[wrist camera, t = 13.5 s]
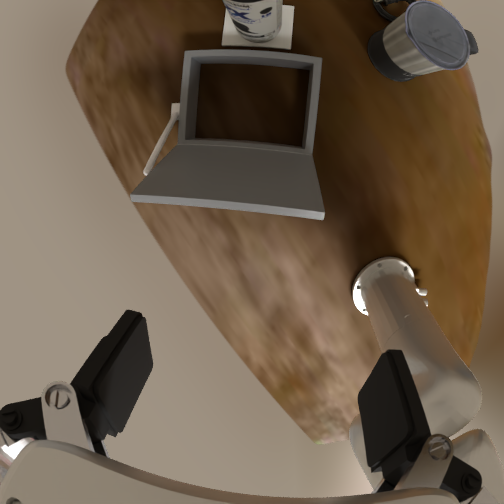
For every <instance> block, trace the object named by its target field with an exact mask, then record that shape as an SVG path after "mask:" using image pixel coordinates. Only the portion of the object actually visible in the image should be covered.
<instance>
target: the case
mask: <svg viewBox="0 0 504 504" xmlns="http://www.w3.org/2000/svg"><path fill="white" fill-rule="evenodd" d="M201 64H253V65H267V66H278V67H288V68H296V69H303V70H310V72H309V83H308V94H307V104H306V114H305V123H304V132H303V141H302V147H301V146H294V145H286V144H277V143H268V142H257V141H246V140H232V139H213V138H195V131H196V115H197V102H198V89H199V78H200V68H201ZM321 66H322V58H319V57H313V56H306V55H299V54H291V53H282V52H272V51H258V50H228V49H220V50H190V51H185V55H184V64H183V73H182V84H181V96H180V103H172V109H171V119H170V121H169V122H168V124H167V126H166V128H165V130H164V131H163V133H162V135H161V137H160V139H159V141H158V143H157V145H156V147H155V149H154V151H153V152H152V154H151V156H150V159H149V161H148V163H147V165H146V167H145V169H144V171H143V173H144V174H145V175H147V176H146V177H145V178H144V179H143V181H142V182H141V183H140V184H139V185H138V186H137V187H136V188H135V190H134V191H133V192H132V193H131V194H130V196H131V201H132V202H145V203H160V204H174V205H187V206H199V207H210V208H221V209H231V210H241V211H251V212H260V213H269V214H278V215H286V216H295V217H303V218H310V219H318V220H323V219H324V215H325V210H324V205H323V200H322V195H321V191H320V186H319V182H318V177H317V173H316V169H315V164H314V160H313V156H312V152H313V144H314V136H315V127H316V118H317V109H318V99H319V89H320V78H321ZM176 120H179V127H178V144H177V145H176V146H175V147H174V148H173V149H172V150H171V151H170V152H169V153H168V154H167V155H166V156H165V157H164V158H163V159H162V160H161V161H160V162H159V163H158V164H157V165H156V167H155V168H154V169H153V170H152V168H153V166H154V163H155V161H156V159H157V157H158V155H159V153H160V151H161V149H162V147H163V145H164V143H165V141H166V139H167V137H168V135H169V133H170V131H171V129H172V127H173V125H174V124H175V122H176ZM151 170H152V171H151Z"/></svg>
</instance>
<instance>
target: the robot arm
mask: <svg viewBox="0 0 504 504" xmlns="http://www.w3.org/2000/svg"><path fill="white" fill-rule="evenodd" d="M426 294H427V289H426V288H418V287H417V286H416V284H415V278H414V274H413V271H412V269H411V268H410V266H409V265H408V264H407V263H406V262H405V261H403V260H402V259H399V258H397V257H384V258H380V259H377V260H375V261H373V262H371V263H369V264H368V265H367V266H365V267H364V268H363V269H362V270H361V271H360V273H359V274H358V275H357V277H356V279H355V281H354V284H353V287H352V297H353V301H354V303H355V306H356V307H357V308H358V310H359V311H361V312H362V313H364V314H366V315H368V317H369V319H370V322H371V325H372V327H373V330H374V333H375V335H376V338H377V341H378V344H379V347H380V349H381V352H382V355H381V356H380V358H379V360H378V362H377V364H376V365H375V367H374V369H373V370H372V372H371V374H370V376H369V377H368V379H367V380H366V382H365V384H364V385H363V387H362V389H361V390H360V392H359V394H358V405H359V410H360V414H358V415H357V416H356V417H355V418H354V420H353V421H352V423H351V425H350V429H349V437H350V442H351V445H352V449H353V451H354V453H355V456H356V458H357V460H358V462H359V464H360V465H361V467H362V469H363V471H364V473H365V475H366V477H367V479H368V480H369V482H370V484H371V486H372V488H373V489H374V491H373V492H372V493H371V494H364V495H354V496H343V497H329V498H328V497H327V498H286V497H285V498H284V497H269V496H257V495H248V494H240V493H232V492H226V491H220V490H215V489H210V488H205V487H200V486H195V485H191V484H187V483H182V482H179V481H175V480H171V479H168V478H165V477H161V476H158V475H155V474H152V473H149V472H146V471H143V470H140V469H137V468H134V467H131V466H128V465H126V464H123V463H120V462H118V461H115V460H113V459H110V457H109V455H108V452H107V449H106V446H105V444H104V441H103V440H104V439H105V437H106V435H107V434H109V435H111V436H114V437H116V436H117V433H118V432H119V433H121V432H122V431H123V429H124V427H125V425H126V423H127V420H128V419H129V417H130V414H131V412H132V410H133V408H134V406H135V404H136V402H137V400H138V397H139V395H140V393H141V391H142V389H143V387H144V385H145V383H146V381H147V379H148V377H149V375H150V373H151V371H152V368H153V360H152V354H151V348H150V342H149V336H148V330H147V323H146V319H145V317H143V316H142V314H141V313H140V312H136V311H132V310H126V311H125V313H124V314H123V315H122V316H121V318H120V319H119V320H118V322H117V323H116V325H115V326H114V327H113V329H112V330H111V331H110V333H109V334H108V335H107V336H105V337H103V338H102V339H101V341H100V342H99V343H98V345H97V346H96V348H95V349H94V350H93V352H92V353H91V354H90V356H89V357H88V359H87V360H86V361H85V363H84V365H83V366H82V367H81V369H80V370H79V372H78V373H77V374H76V376H75V377H74V379H73V380H72V382H71V383H70V384H68V383H66V382H63V381H55V382H52V383H50V384H49V385H47V386H46V387H45V388H44V390H43V392H42V396H41V397H39V398H35V399H30V400H26V401H21V402H16V403H11V404H8V405H5V406H4V407H3V408H2V409H1V410H0V504H504V469H503V466H502V463H501V461H500V458H499V455H498V453H497V450H496V448H495V446H494V444H493V442H492V440H491V438H490V436H489V435H488V434H487V433H486V432H485V431H483V430H482V429H474V430H471V431H469V432H466V433H464V434H462V435H461V436H459V437H457V438H455V439H453V440H452V441H451V440H450V439H449V437H450V436H452V435H454V434H455V433H457V432H458V431H459V430H461V429H462V428H463V427H464V426H466V425H467V424H468V423H469V422H470V421H471V420H472V419H473V418H474V416H475V415H476V414H477V412H478V410H479V408H480V406H481V402H482V391H481V388H480V385H479V383H478V381H477V380H476V378H475V376H474V375H473V373H472V372H471V371H470V370H469V368H468V367H467V366H466V365H465V363H464V362H463V361H462V360H461V358H460V357H459V356H458V354H457V353H456V352H455V350H454V349H453V347H452V346H451V344H450V343H449V341H448V340H447V338H446V336H445V335H444V333H443V332H442V330H441V328H440V327H439V325H438V323H437V322H436V320H435V318H434V317H433V315H432V314H431V312H430V310H429V309H428V307H427V305H428V300H427V299H426V298H421V297H420V295H422V296H425V295H426Z"/></svg>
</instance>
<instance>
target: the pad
mask: <svg viewBox="0 0 504 504" xmlns="http://www.w3.org/2000/svg"><path fill="white" fill-rule="evenodd" d="M293 16H294V6H288V5H282V26H281V29H280V32H279V33H278V34H277V36H276V37H274V38H273V39H272V40H270V41H267V42H263V43H254V42H250V41H248V40H246V39H244V38H243V37H241V36H240V35H239V33H238V32H237V30H236V28H235V25H234V24H233V21H232V19H231V17H230V15H229V13H228V11H227V8H226V14H225V21H224V29H223V38H222V46H244V47H263V48H276V49H286V50H291V41H292V28H293Z"/></svg>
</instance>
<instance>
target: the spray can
mask: <svg viewBox="0 0 504 504" xmlns="http://www.w3.org/2000/svg"><path fill="white" fill-rule="evenodd" d="M223 2H224V4H225V6H226V8H227V11H228V13H229V15H230V17H231V19H232V21H233V24H234V25H235V28H236V30H237V32H238V33H239V35H240V36H241V37H243V38H244V39H246V40H248V41H250V42H254V43H263V42H267V41H270V40H272V39H273V38H274V37H276V36H277V34H278V33H279V32H280V29H281V26H282V2H283V0H223Z"/></svg>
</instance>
